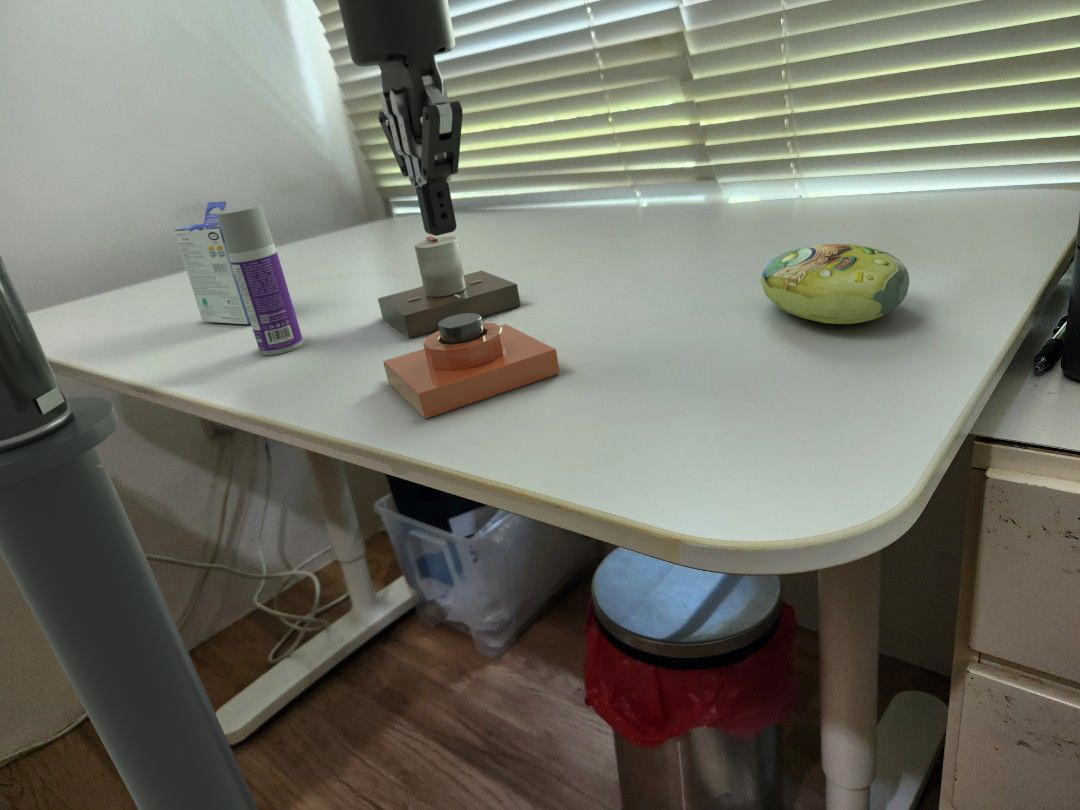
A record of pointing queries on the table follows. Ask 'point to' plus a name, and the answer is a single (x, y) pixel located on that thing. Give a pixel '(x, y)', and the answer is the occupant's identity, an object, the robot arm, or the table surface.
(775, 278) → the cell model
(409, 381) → the button housing
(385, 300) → the dial panel
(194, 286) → the ink cartridge box
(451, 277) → the dial
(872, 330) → the table surface
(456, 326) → the button
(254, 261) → the container
